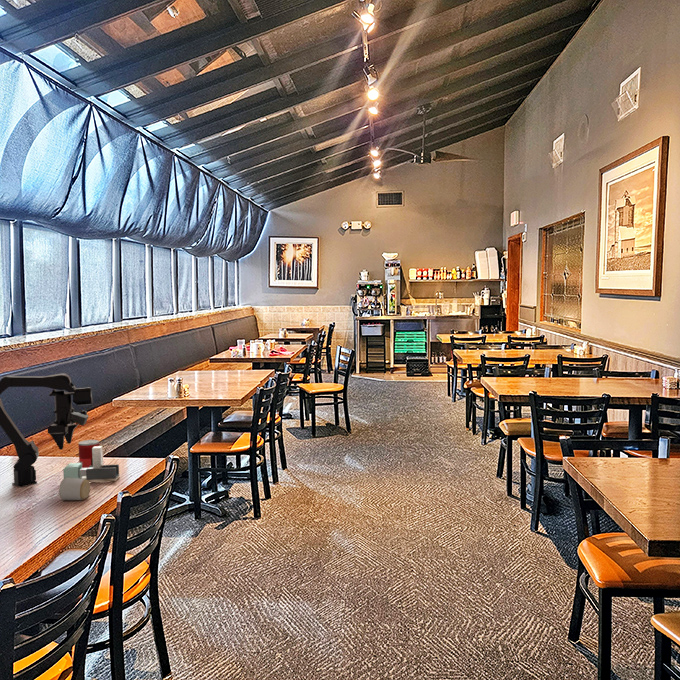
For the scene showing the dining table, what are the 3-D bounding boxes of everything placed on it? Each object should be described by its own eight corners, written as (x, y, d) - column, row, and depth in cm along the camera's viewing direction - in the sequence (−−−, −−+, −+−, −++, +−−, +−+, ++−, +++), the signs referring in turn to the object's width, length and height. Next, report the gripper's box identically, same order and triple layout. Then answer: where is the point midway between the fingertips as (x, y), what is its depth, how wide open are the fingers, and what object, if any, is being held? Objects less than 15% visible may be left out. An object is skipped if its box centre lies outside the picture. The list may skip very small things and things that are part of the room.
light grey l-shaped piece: (103, 473, 224) (102, 445, 223) (101, 475, 221) (100, 447, 221) (70, 474, 223) (69, 447, 222) (68, 477, 220) (67, 449, 219)
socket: (82, 476, 224) (81, 462, 224) (77, 480, 219) (77, 466, 219) (67, 477, 224) (67, 463, 223) (63, 481, 218) (62, 467, 218)
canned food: (95, 470, 236) (94, 444, 235) (75, 470, 236) (74, 444, 235) (103, 465, 243) (102, 439, 243) (84, 465, 244) (83, 439, 243)
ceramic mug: (82, 503, 197) (81, 480, 197) (58, 503, 197) (57, 481, 197) (95, 493, 208) (95, 472, 208) (73, 493, 208) (72, 472, 208)
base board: (119, 476, 227) (119, 474, 227) (115, 481, 221) (115, 479, 221) (67, 479, 224) (67, 477, 224) (62, 484, 218) (62, 481, 218)
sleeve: (119, 474, 226) (118, 464, 226) (116, 478, 221) (115, 467, 221) (90, 476, 224) (89, 465, 224) (86, 480, 220) (86, 469, 219)
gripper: (78, 410, 214) (79, 451, 215) (92, 401, 233) (94, 439, 234) (46, 411, 213) (48, 453, 214) (63, 402, 231) (64, 441, 232)
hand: (65, 446), depth 223 cm, fingers open, 9 cm apart
